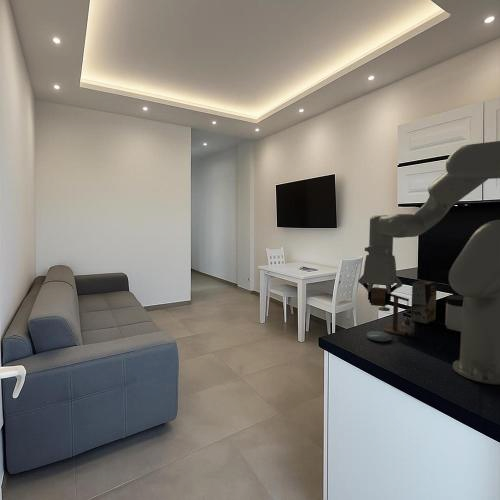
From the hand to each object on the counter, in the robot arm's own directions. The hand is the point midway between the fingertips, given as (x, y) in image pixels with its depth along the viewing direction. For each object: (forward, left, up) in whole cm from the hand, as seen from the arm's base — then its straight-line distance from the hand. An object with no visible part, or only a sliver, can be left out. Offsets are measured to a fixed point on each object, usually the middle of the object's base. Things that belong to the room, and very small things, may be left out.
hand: (379, 302), depth 109 cm
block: (0, 0, -1) cm, 1 cm away
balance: (+10, -4, -13) cm, 17 cm away
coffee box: (+32, -12, -13) cm, 37 cm away
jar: (+27, -24, -13) cm, 39 cm away
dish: (0, 0, -13) cm, 13 cm away
